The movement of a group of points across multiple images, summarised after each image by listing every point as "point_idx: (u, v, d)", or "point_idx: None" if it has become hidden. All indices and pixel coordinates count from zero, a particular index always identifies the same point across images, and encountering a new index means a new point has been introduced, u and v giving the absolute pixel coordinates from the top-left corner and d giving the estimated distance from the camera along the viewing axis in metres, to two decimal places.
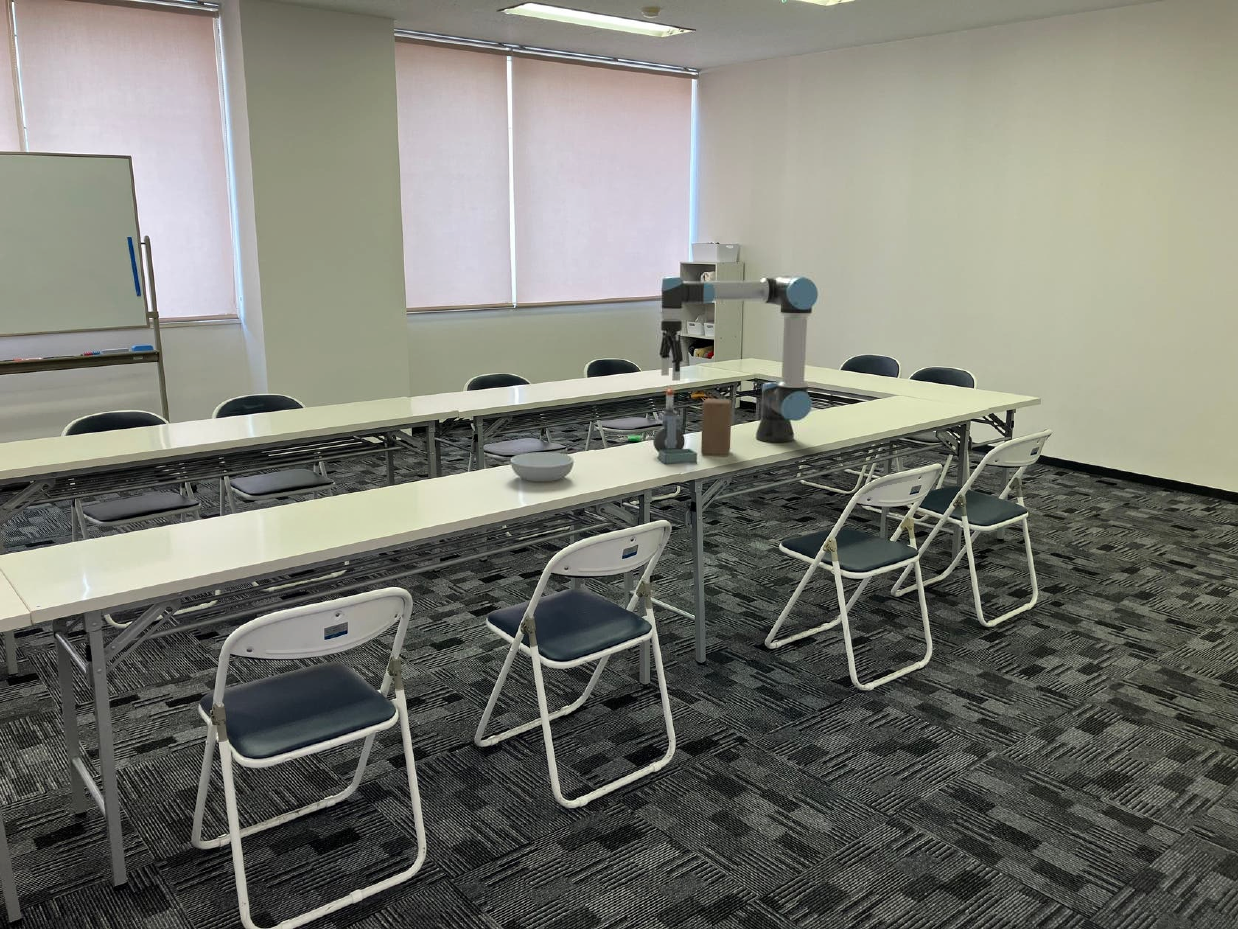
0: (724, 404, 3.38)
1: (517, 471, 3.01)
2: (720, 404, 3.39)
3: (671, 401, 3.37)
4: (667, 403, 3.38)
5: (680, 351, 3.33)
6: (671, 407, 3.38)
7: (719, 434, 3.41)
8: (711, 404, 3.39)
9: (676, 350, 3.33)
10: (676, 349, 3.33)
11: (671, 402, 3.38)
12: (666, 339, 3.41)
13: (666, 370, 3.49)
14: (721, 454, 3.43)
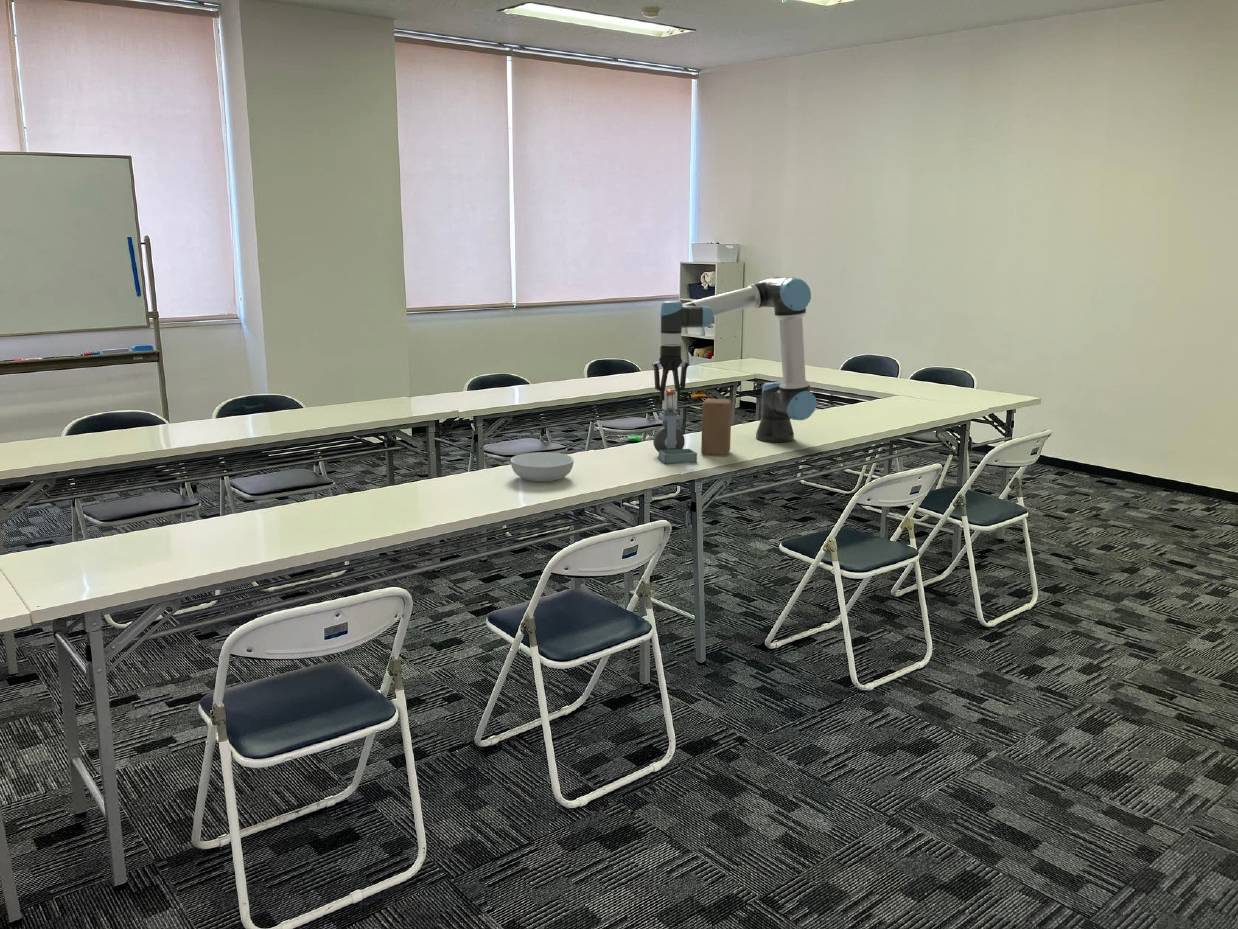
0: (724, 404, 3.38)
1: (517, 471, 3.01)
2: (720, 404, 3.39)
3: (671, 401, 3.37)
4: (667, 403, 3.38)
5: (656, 380, 3.35)
6: (671, 407, 3.38)
7: (719, 434, 3.41)
8: (711, 404, 3.39)
9: (655, 379, 3.36)
10: None
11: (671, 402, 3.38)
12: None
13: (674, 404, 3.39)
14: (721, 454, 3.43)
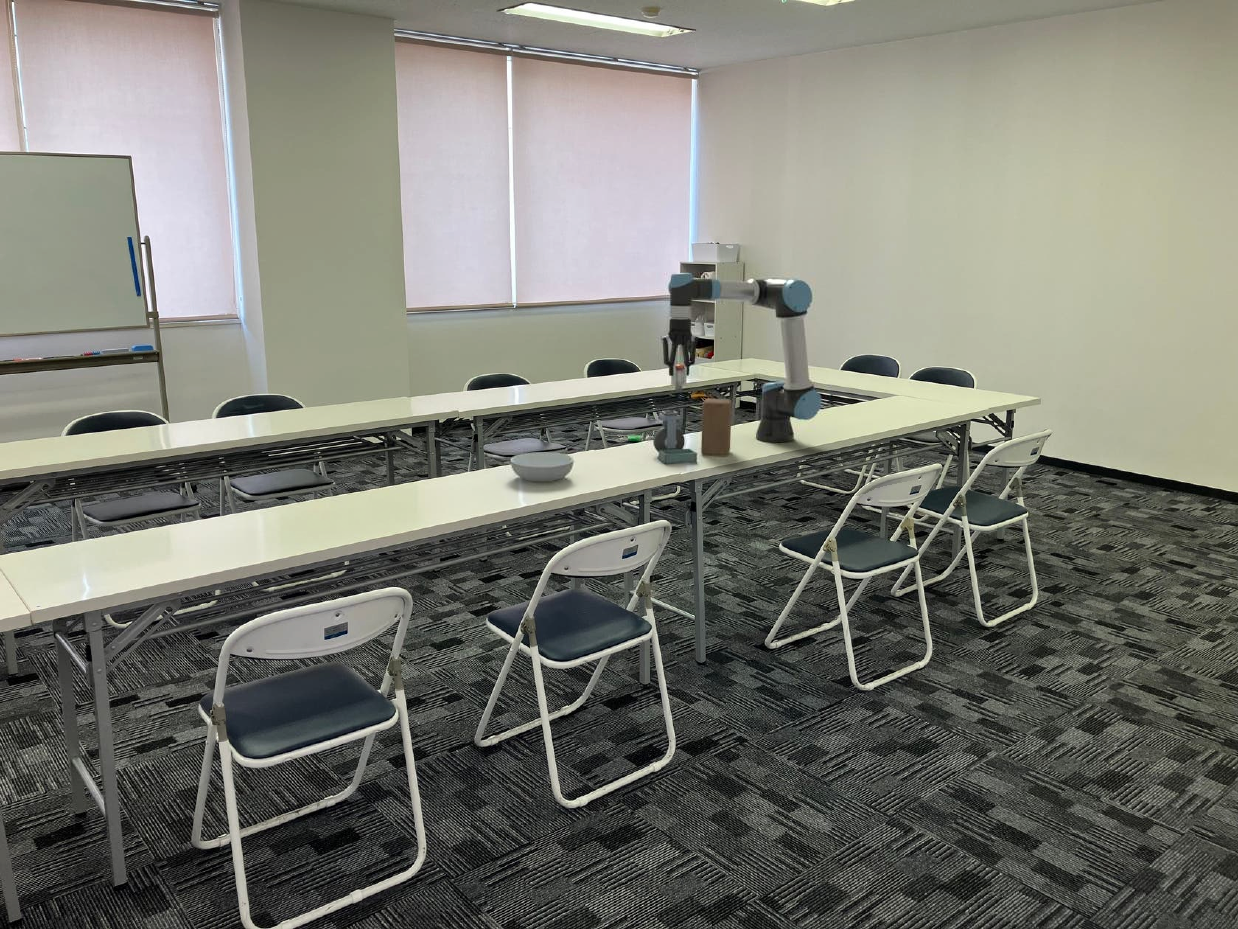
0: (724, 404, 3.38)
1: (517, 471, 3.01)
2: (720, 404, 3.39)
3: (680, 376, 3.27)
4: (676, 378, 3.27)
5: (665, 355, 3.24)
6: (680, 383, 3.27)
7: (719, 434, 3.41)
8: (711, 404, 3.39)
9: (663, 353, 3.25)
10: (663, 352, 3.25)
11: (680, 377, 3.27)
12: None
13: (683, 379, 3.28)
14: (721, 454, 3.43)
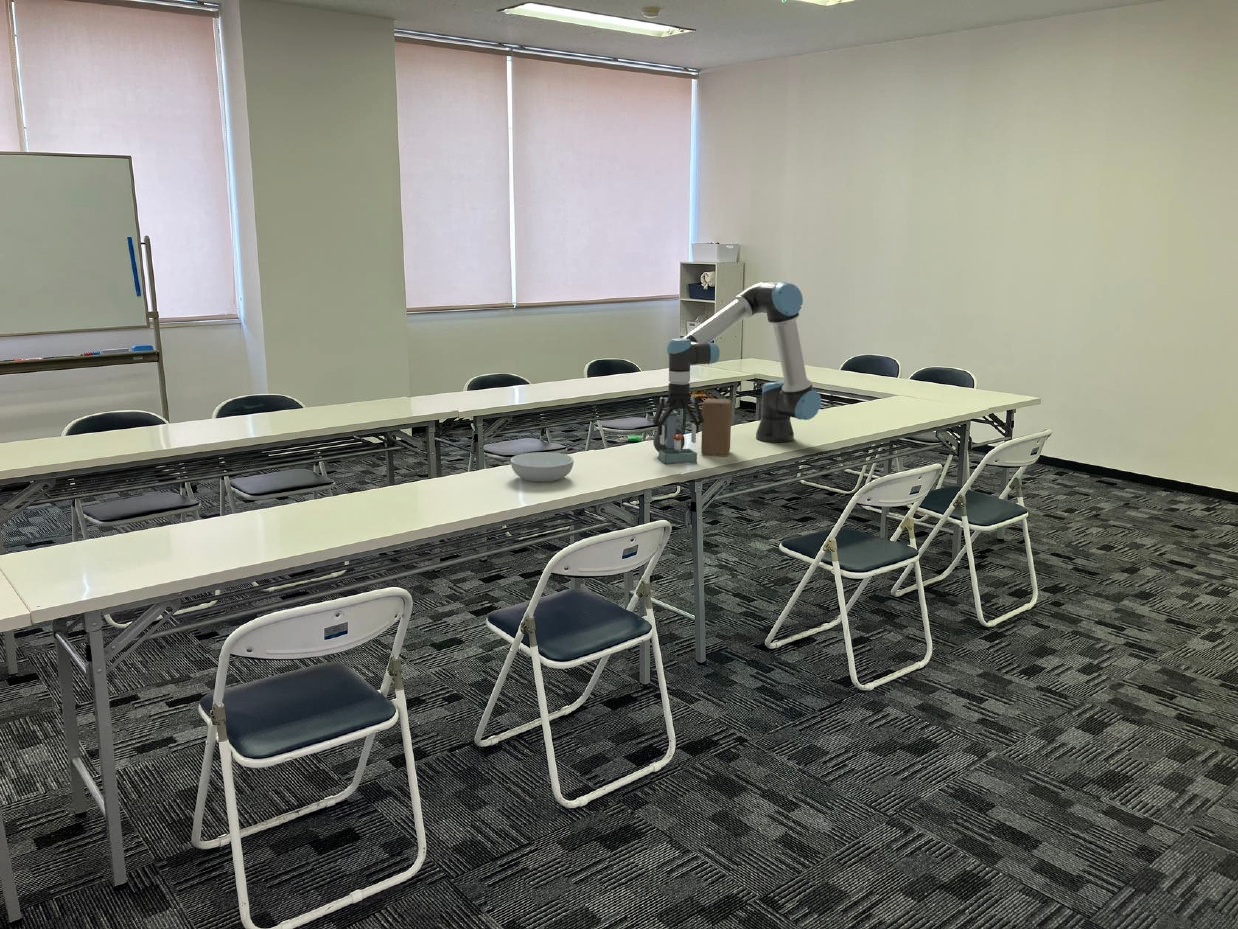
0: (724, 404, 3.38)
1: (517, 471, 3.01)
2: (720, 404, 3.39)
3: (679, 446, 3.33)
4: (675, 448, 3.33)
5: (657, 414, 3.28)
6: (679, 452, 3.33)
7: (719, 434, 3.41)
8: (711, 404, 3.39)
9: (656, 413, 3.30)
10: (656, 412, 3.30)
11: (679, 447, 3.33)
12: None
13: (693, 437, 3.34)
14: (721, 454, 3.43)
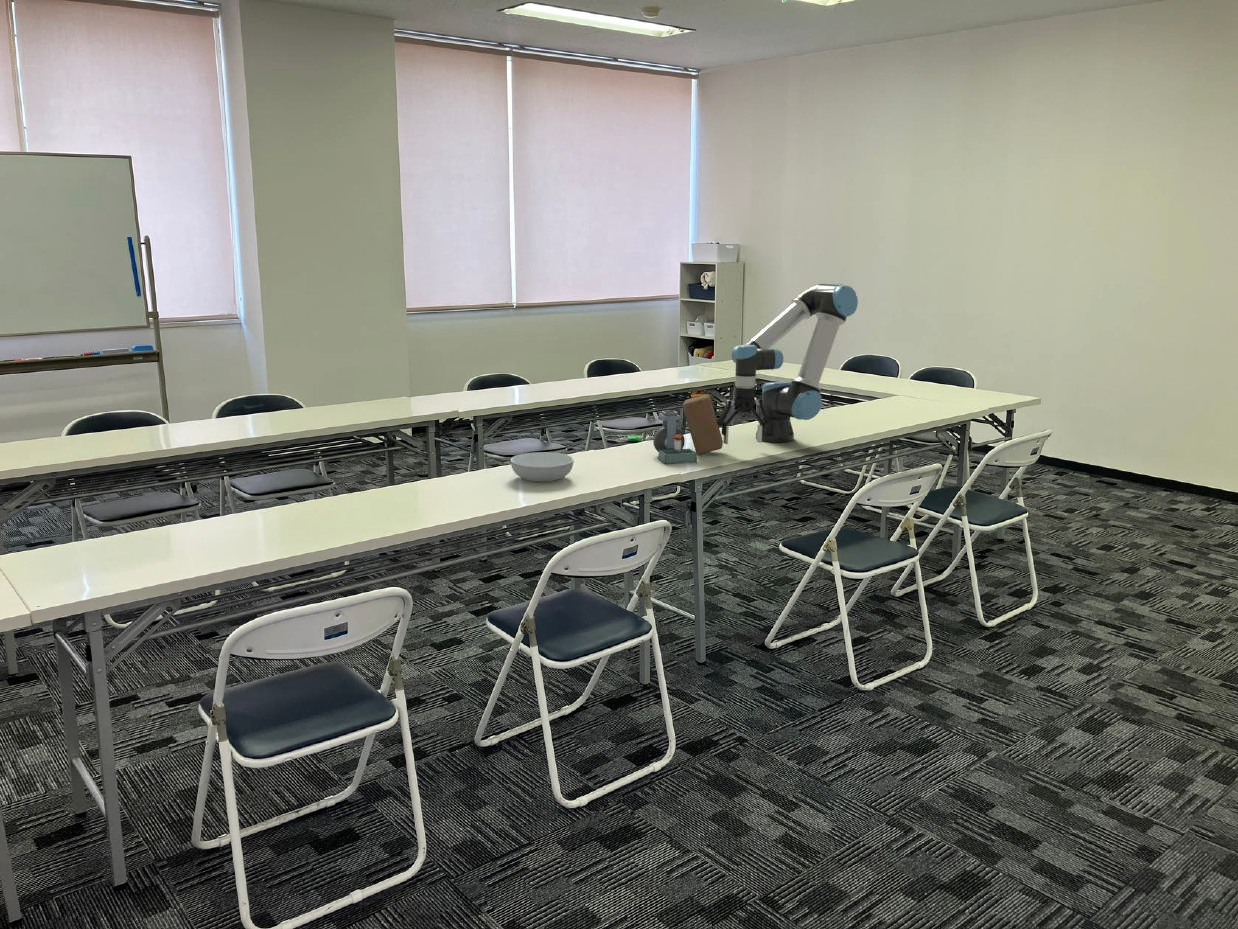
0: (703, 399, 3.39)
1: (517, 471, 3.01)
2: (699, 401, 3.39)
3: (679, 446, 3.33)
4: (675, 448, 3.33)
5: (722, 416, 3.44)
6: (679, 452, 3.33)
7: (708, 430, 3.41)
8: (691, 403, 3.40)
9: (721, 414, 3.46)
10: None
11: (679, 447, 3.33)
12: None
13: (759, 437, 3.50)
14: (716, 448, 3.42)
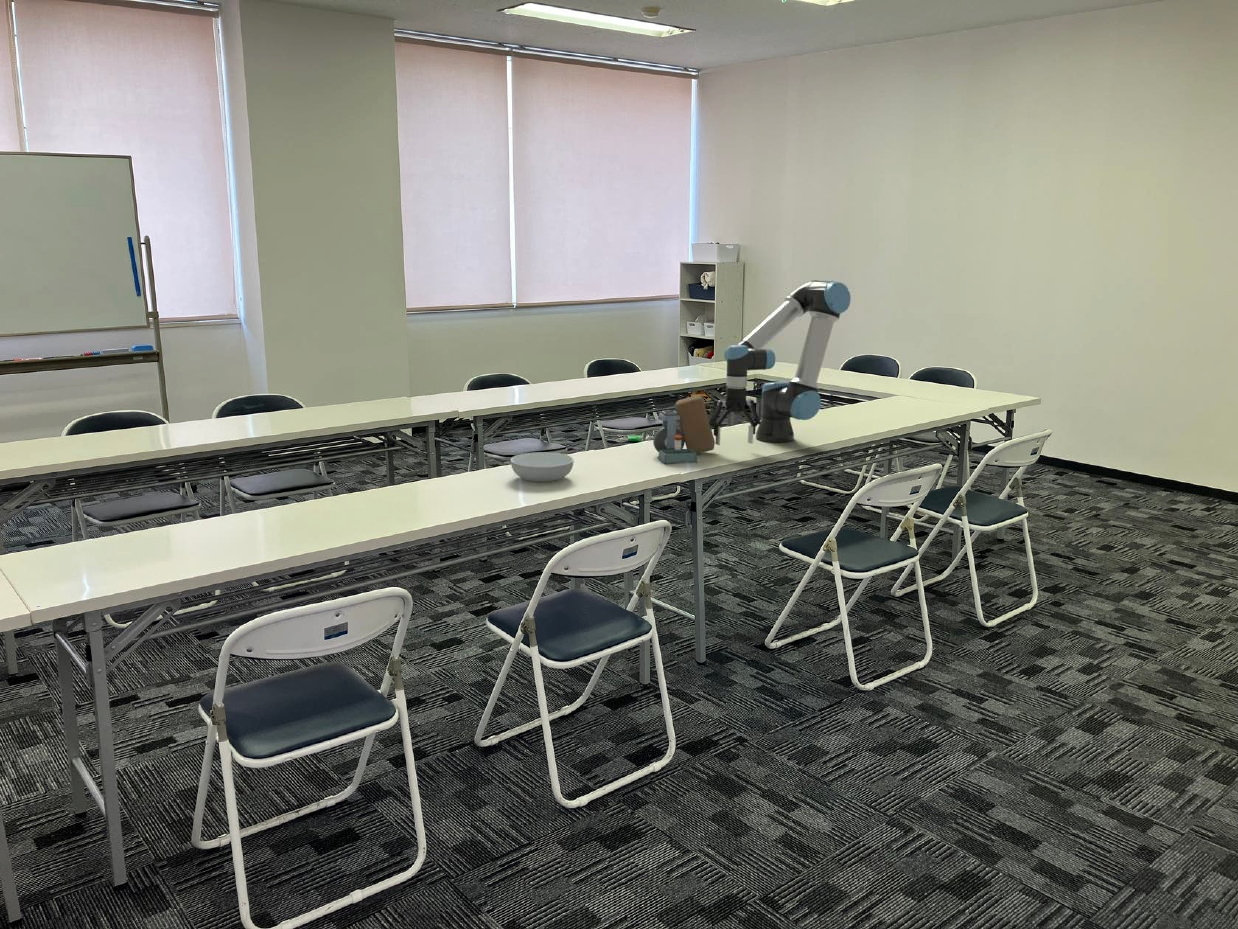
0: (695, 400, 3.38)
1: (517, 471, 3.01)
2: (692, 401, 3.38)
3: (679, 446, 3.33)
4: (675, 448, 3.33)
5: (714, 416, 3.44)
6: (679, 452, 3.33)
7: (700, 430, 3.40)
8: (683, 404, 3.39)
9: (713, 415, 3.45)
10: (713, 414, 3.45)
11: (679, 447, 3.33)
12: None
13: (750, 438, 3.50)
14: (707, 449, 3.41)
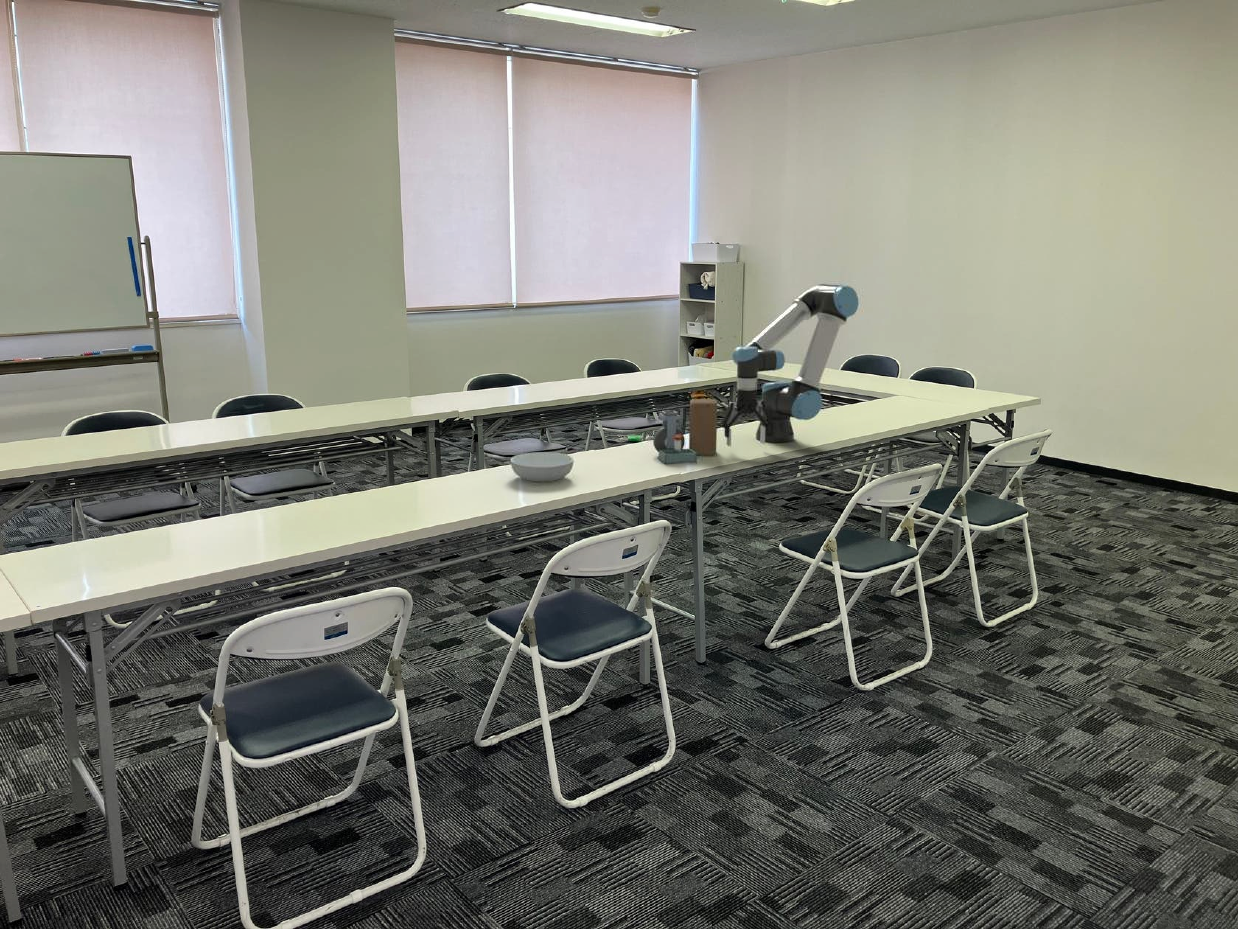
0: (712, 404, 3.38)
1: (517, 471, 3.01)
2: (708, 404, 3.38)
3: (679, 446, 3.33)
4: (675, 448, 3.33)
5: (725, 418, 3.45)
6: (679, 452, 3.33)
7: (707, 434, 3.40)
8: (699, 404, 3.38)
9: (724, 416, 3.46)
10: (724, 415, 3.47)
11: (679, 447, 3.33)
12: None
13: (762, 438, 3.51)
14: (709, 454, 3.42)
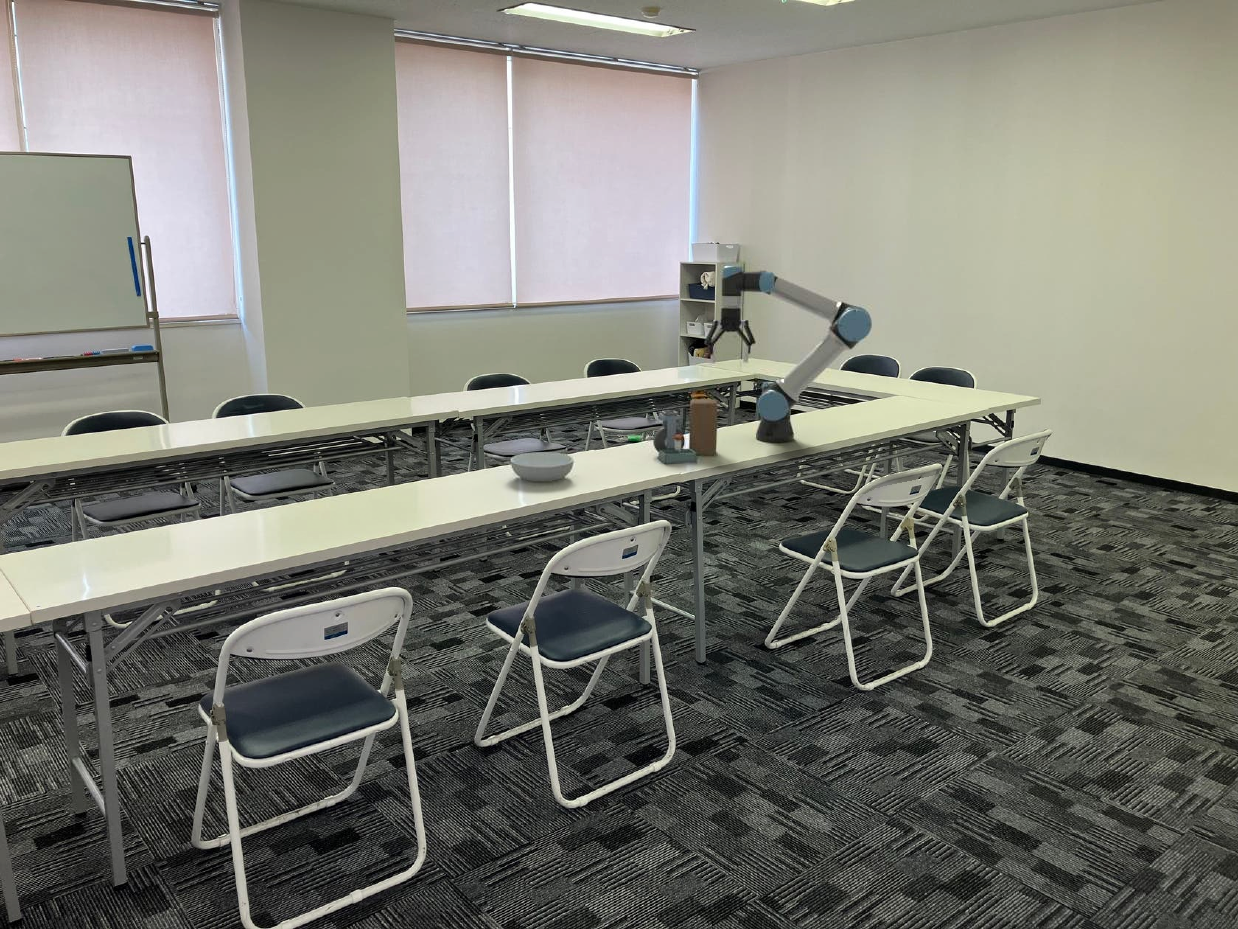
0: (712, 404, 3.38)
1: (517, 471, 3.01)
2: (708, 404, 3.38)
3: (679, 446, 3.33)
4: (675, 448, 3.33)
5: (709, 335, 3.54)
6: (679, 452, 3.33)
7: (707, 434, 3.40)
8: (699, 404, 3.38)
9: (708, 334, 3.55)
10: (708, 333, 3.55)
11: (679, 447, 3.33)
12: None
13: (745, 357, 3.60)
14: (709, 454, 3.42)
